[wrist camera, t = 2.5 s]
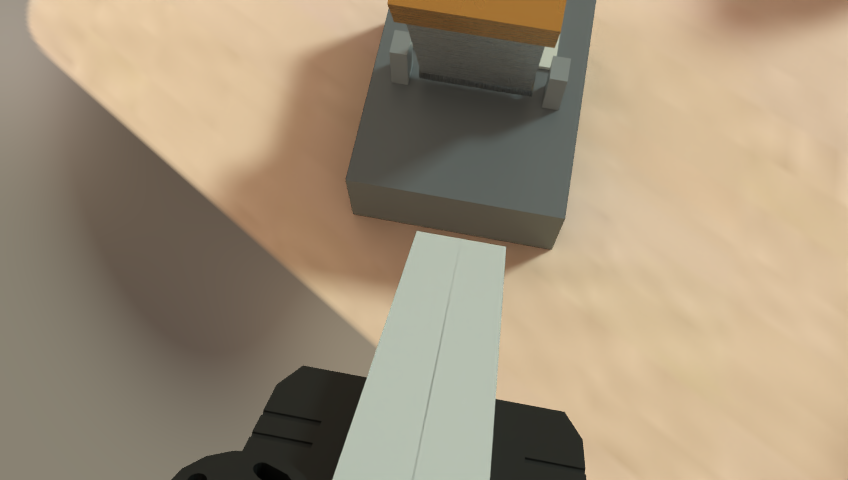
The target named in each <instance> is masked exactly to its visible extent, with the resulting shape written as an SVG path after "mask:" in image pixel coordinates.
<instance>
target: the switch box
mask: <svg viewBox="0 0 848 480" xmlns="http://www.w3.org/2000/svg"><path fill="white" fill-rule="evenodd" d="M595 4H596V0H567V1H566V6H565V12H564V17H563V23H562V28H561V33H560V35H559V38H558V41H557V43H556V46H555V48H551V47H545V48H544V51H543V54H542V57H541V60H540V63H539V67H538V70H537V73H536V78H535V83H534V88H533V93H532V97H528V96H522V95H516V94H510V93H504V92H498V91H492V90H486V89H481V88H475V87H469V86H463V85H457V84H451V83H445V82H439V81H433V80H427V79H421V78H419V64H418V61H417V57H416V54H415V51H414V48H413V44H412V41H411V38H410V35H409V31H408V28H407V25H406V24H403V23H397V22H394V21H393V18H392V15H391V12H390V9H389V10H388V14H387V18H386V22H385V26H384V30H383V34H382V38H381V42H380V45H379V49H378V53H377V57H376V61H375V65H374V69H373V73H372V77H371V81H370V85H369V89H368V93H367V97H366V101H365V105H364V109H363V113H362V117H361V121H360V125H359V129H358V133H357V137H356V141H355V144H354V148H353V152H352V156H351V160H350V164H349V168H348V172H347V176H346V184H347V189H348V193H349V198H350V202H351V207H352V211H353V214H356V215H362V216H367V217H373V218H379V219H384V220H390V221H395V222H401V223H406V224H412V225H417V226H423V227H428V228H434V229H440V230H445V231H451V232H456V233H462V234H467V235H473V236H478V237H484V238H490V239H495V240H501V241H506V242H512V243H517V244H523V245H528V246H534V247H540V248H545V249H551V250H552V248H553V245H554V243H555V241H556V238H557V236H558V234H559V231H560V229H561V227H562V225H563V222H564V220H565V215H566V208H567V201H568V194H569V187H570V180H571V173H572V166H573V159H574V152H575V145H576V138H577V131H578V124H579V117H580V110H581V103H582V96H583V89H584V82H585V75H586V68H587V61H588V54H589V47H590V39H591V32H592V25H593V18H594V11H595Z"/></svg>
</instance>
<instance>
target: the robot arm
mask: <svg viewBox="0 0 848 480" xmlns="http://www.w3.org/2000/svg"><path fill="white" fill-rule="evenodd" d="M505 257H506V247H505V246H499V245H494V244H488V243H482V242H477V241H471V240H465V239H460V238H454V237H448V236H443V235H437V234H431V233H426V232H420V231H417V232H416V235H415V238H414V241H413V244H412V247H411V250H410V252H409V255H408V258H407V261H406V264H405V267H404V270H403V273H402V276H401V279H400V282H399V285H398V288H397V291H396V294H395V297H394V300H393V303H392V305H391V308H390V311H389V314H388V317H387V320H386V323H385V326H384V329H383V332H382V335H381V338H380V341H379V344H378V347H377V350H376V353H375V356H374V359H373V362H372V364H371V367H370V370H369V373H368V377H367V378H366V377H361V376H355V375H350V374H345V373H340V372H334V371H329V370H324V369H318V368H313V367H307V366H302V367H301V368H299V369H298V370H296V371H295V372H294V373H292V374H291V375H289V376H288V377H287V378H285V379H284V380H282V381H281V382H280V383H278V384H277V385H276V387H275V389H274V391H273V393H272V395H271V397H270V399H269V401H268V403H267V405H266V406H265V408H264V411H263V415H261V416H260V418H259V420H258V422H257V424H256V426H255V428H254V429H253V432H252V436H251V437H249V439H248V441H247V443H246V445H245V447H244V449H243V451H231V452H225V453H220V454H215V455H211V456H206V457H204V458H202V459H200V460H198V461H196V462H194V463H192V464H190V465H188V466H186V467H184V468H182V469H181V470H180V471H179V472H178V473H177V474H176V476H175V477H174V478H173V479H172V480H586V474H585V461H584V450H583V440H582V438H581V437H580V435H579V434H578V432H577V430H576V429H575V427H574V426H573V424H572V423H571V421H570V420H569V418H568V417H567V415H566V414H565V412H562V411H556V410H551V409H546V408H540V407H535V406H530V405H524V404H519V403H514V402H508V401H503V400H498V399H496V385H497V371H498V357H499V342H500V328H501V314H502V300H503V285H504V271H505Z"/></svg>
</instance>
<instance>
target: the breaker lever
mask: <svg viewBox="0 0 848 480" xmlns="http://www.w3.org/2000/svg"><path fill="white" fill-rule="evenodd" d="M566 1H567V0H388V7H389V9H390V12H391V15H392V18H393V21H394V22H397V23H403V24H406V25H407V28H408V31H409V35H410V38H411V41H412V44H413V48H414V51H415V54H416V57H417V61H418V64H419V78H421V79H427V80H433V81H439V82H445V83H451V84H457V85H463V86H469V87H475V88H481V89H486V90H492V91H498V92H504V93H510V94H516V95H522V96H528V97H532V93H533V88H534V83H535V78H536V73H537V70H538V67H539V63H540V60H541V57H542V54H543V51H544V48H545V47H551V48H555V46H556V43H557V41H558V38H559V35H560V33H561V28H562V23H563V17H564V12H565V6H566Z"/></svg>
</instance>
